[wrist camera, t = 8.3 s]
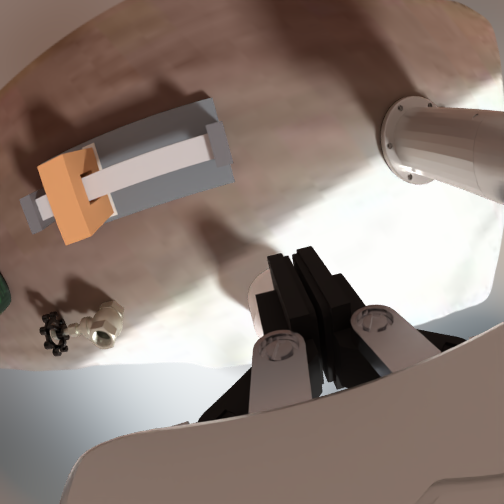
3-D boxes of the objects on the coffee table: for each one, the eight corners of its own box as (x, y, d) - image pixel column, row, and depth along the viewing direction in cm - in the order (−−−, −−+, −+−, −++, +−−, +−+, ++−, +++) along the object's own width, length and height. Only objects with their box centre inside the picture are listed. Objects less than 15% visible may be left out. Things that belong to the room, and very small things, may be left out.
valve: (116, 287, 39) (50, 303, 39) (104, 314, 33) (33, 328, 33) (134, 326, 42) (69, 338, 41) (126, 356, 36) (56, 365, 35)
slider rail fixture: (211, 98, 32) (213, 89, 24) (233, 179, 36) (241, 194, 28) (46, 161, 31) (10, 173, 23) (71, 233, 35) (43, 259, 27)
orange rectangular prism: (92, 147, 30) (62, 154, 22) (114, 212, 33) (91, 236, 26) (70, 157, 29) (37, 166, 22) (92, 220, 33) (66, 245, 25)
